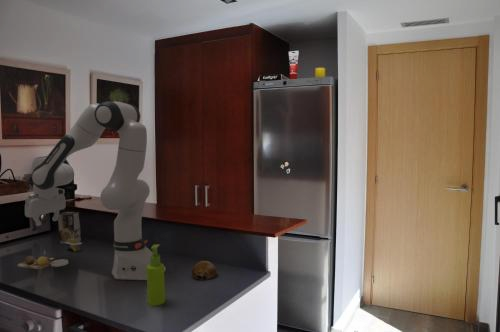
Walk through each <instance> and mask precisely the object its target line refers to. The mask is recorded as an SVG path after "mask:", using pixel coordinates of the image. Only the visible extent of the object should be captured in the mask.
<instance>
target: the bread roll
mask: <svg viewBox="0 0 500 332" xmlns="http://www.w3.org/2000/svg"><path fill="white" fill-rule="evenodd" d="M216 275H217V267H216V266H215V265H214V263H212V262H210V261H209V260H201V261H199V262H197V263H196V264H195V265H194V266H193V268H192V270H191V276H192V278H193V279H195V280H199V281H205V280H211V279H213V278H215V276H216Z"/></svg>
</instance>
